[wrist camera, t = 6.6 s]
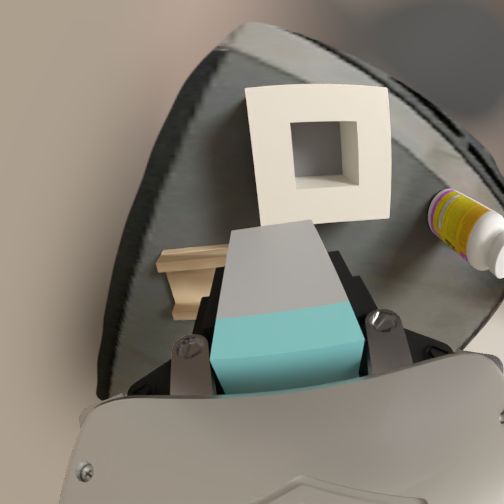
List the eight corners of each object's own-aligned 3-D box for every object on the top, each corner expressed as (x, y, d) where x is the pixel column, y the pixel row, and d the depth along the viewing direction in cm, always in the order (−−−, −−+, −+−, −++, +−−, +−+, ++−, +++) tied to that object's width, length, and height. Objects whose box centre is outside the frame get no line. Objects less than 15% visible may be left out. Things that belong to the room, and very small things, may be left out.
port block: (366, 199, 28) (389, 218, 23) (260, 207, 29) (261, 228, 24) (362, 93, 23) (387, 87, 18) (247, 96, 24) (244, 88, 18)
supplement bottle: (418, 228, 30) (478, 283, 18) (435, 180, 27) (507, 218, 15) (451, 239, 30) (507, 290, 19) (467, 196, 27) (532, 235, 16)
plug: (315, 284, 15) (349, 409, 8) (245, 294, 16) (239, 423, 8) (311, 219, 13) (364, 339, 6) (231, 230, 14) (209, 359, 7)
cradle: (238, 302, 35) (237, 317, 32) (179, 306, 35) (174, 320, 33) (228, 243, 31) (225, 255, 28) (163, 250, 32) (155, 262, 29)
